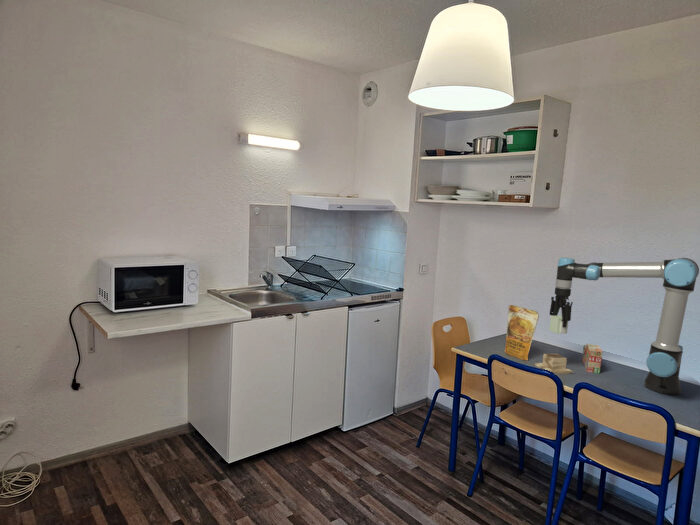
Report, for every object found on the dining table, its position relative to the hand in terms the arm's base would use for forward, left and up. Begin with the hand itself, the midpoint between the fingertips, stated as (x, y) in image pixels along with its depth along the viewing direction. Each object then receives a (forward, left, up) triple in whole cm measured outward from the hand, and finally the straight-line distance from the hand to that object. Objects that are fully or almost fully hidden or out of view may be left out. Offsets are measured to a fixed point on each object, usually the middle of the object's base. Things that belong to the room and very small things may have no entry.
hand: (558, 331), depth 249 cm
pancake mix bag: (+22, +7, -21) cm, 31 cm away
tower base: (0, 0, -21) cm, 21 cm away
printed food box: (+2, -25, -21) cm, 33 cm away
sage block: (0, 0, 0) cm, 0 cm away
